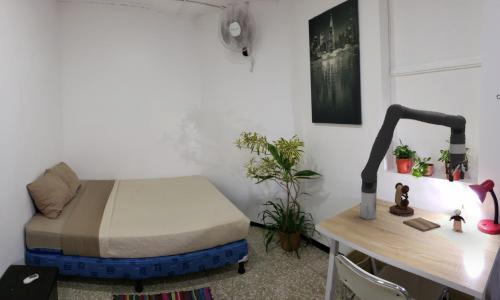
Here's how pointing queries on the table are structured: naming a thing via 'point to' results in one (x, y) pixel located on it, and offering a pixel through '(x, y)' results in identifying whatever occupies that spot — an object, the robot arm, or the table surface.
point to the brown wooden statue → (401, 201)
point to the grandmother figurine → (457, 220)
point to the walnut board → (421, 224)
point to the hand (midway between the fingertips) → (456, 180)
